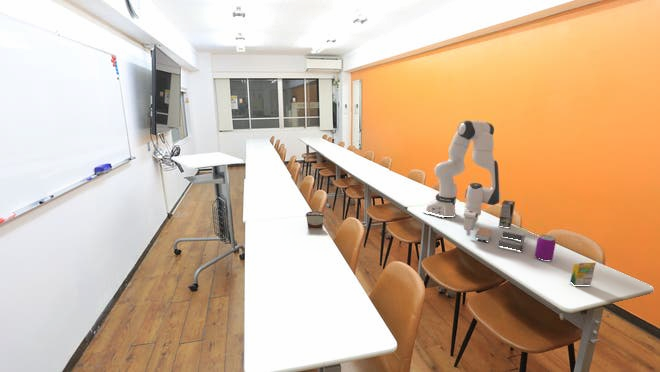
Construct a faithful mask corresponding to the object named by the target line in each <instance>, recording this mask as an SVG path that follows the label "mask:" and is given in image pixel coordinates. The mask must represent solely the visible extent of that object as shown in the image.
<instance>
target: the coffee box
mask: <svg viewBox="0 0 660 372" xmlns="http://www.w3.org/2000/svg"><path fill="white" fill-rule="evenodd" d="M515 205H516V202H515V201H513V200H506V199H504V200H503V201H502V203H501V208H500V209H501V210H500V216H499V223H498V227H499V226H503V227H510V226H512V224H513V219H514V218H513V217H514V210H515ZM510 228H511V227H510Z"/></svg>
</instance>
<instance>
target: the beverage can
mask: <svg viewBox="0 0 660 372" xmlns="http://www.w3.org/2000/svg"><path fill="white" fill-rule="evenodd" d="M555 248H556V240H555V237H553V236H552V235H548V234H540V235H539V237H538V238H537V241H536V247H535V250H534V251H535V252H534V256H536V257H537V258H540V259H543V260H551V261H552V260H553V259H554V253H555ZM536 257H535V258H536ZM537 258H536V259H537Z"/></svg>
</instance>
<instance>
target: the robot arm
mask: <svg viewBox="0 0 660 372" xmlns="http://www.w3.org/2000/svg"><path fill="white" fill-rule="evenodd" d="M494 132H495V127H494V126H493V124H492V123H490V122H484V121H479V120H463V121H461V122H460V123H459V125H458V127H457V130H456V132H455V134H454V135H453V138H452V140H451V143H450V145H449V147H448V151H447V152H448V154H449V157H448V159H447V160H445V161H441V162H439V163H438V164H436V165H435V166H434V169H433V171H434V174H435V176H436V177H437V179H438V183H439V190H438V193H437V194H436V195H435V197H434V198H435V199H433V200H431V201H429V202H428V203H427V205H426V211H428V212H432V213H435V214H439V215H443V216H454V215H456V216H457V214H456V203H457V202H456V201H457V196H456V195H457V184H456V183H455V182H454V177H455V176H458V175H461V174H462V173H463V172H464V171H465V168H466V166H465V163H464V162H465V157H466V154H467V151H468V149H469V147H470V144H471V142H472V143H473V146H472V152H471V158H472V161H473V162H474V164H476V165H477V166H479V167H481V168H483V169H485V170H487V171H488V172H489V174H490V175H491V176H490V178H491V179H490V181H491V187H486V186H483V185H482V184H481V183H479V182H471V183H469V184H468V186H467V188H466V189H465V195H464V198H465V200H466V201H465V206H464V211H463V217H464V219H463V229H464V230H465V231H466V236H468V237H469V236H470V235H471V232H472V231H474V230H475V226H476V224H477V222H478V220H479V216H481V214H482V207H483V206H482V204H487V205H490V206H495V205H497V204H499V203H500V202H501V198H502V196H501V191H500V177H499V174H500V173H499V165H498V161H497V160H495V158H494V154H493V153H494Z"/></svg>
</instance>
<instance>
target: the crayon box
mask: <svg viewBox="0 0 660 372" xmlns="http://www.w3.org/2000/svg"><path fill="white" fill-rule="evenodd" d="M595 267H596V262H580V263H574V264H573V267H572V271H571V277H570V281H569V283H570V282H572V283H573V284H574V285H591V286H592V281H593V276H594V271H595V269H596V268H595Z"/></svg>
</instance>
